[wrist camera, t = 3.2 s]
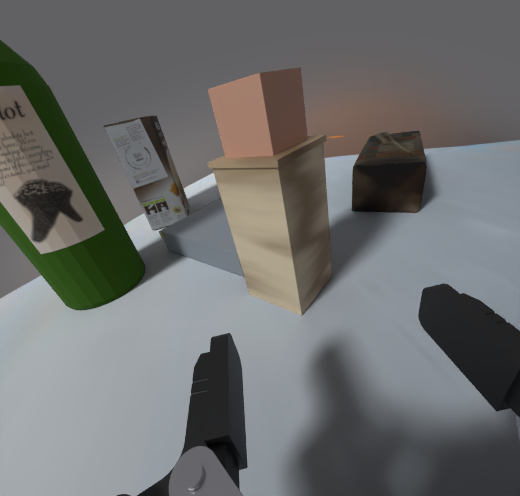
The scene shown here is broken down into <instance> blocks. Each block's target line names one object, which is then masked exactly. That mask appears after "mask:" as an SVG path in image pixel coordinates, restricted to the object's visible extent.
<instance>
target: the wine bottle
mask: <svg viewBox="0 0 520 496" xmlns="http://www.w3.org/2000/svg"><path fill="white" fill-rule="evenodd" d="M0 225H1V226H2V227H3V228H4V229H5V231H6V232H7V233H8V235H9V236H10V237H11V238H12V239H13V241H14V242H15V243H16V244H17V246H18V247H19V248H20V249H21V250H22V252H23V253H24V254H25V255H26V257H27V258H28V259H29V260H30V262H31V263H32V264H33V265H34V266H35V268H36V269H37V270H38V271H39V273H40V274H41V275H42V276H43V277H44V279H45V280H46V281H47V282H48V284H49V285H50V286H51V287H52V289H53V290H54V291H55V292H56V293H57V295H58V296H59V297H60V298H61V300H62V301H63V302H64V303H65V305H66V306H68V307H70V308H72V309H75V310H87V309H92V308H96V307H99V306H102V305H104V304H107V303H109V302H111V301H113V300H115V299H117V298H119V297H120V296H122V295H123V294H125V293H127V292H128V291H129V290H130V289H132V288H133V287H134V286H135V285H136V284H137V283H138V282H139V281H140V280H141V278H142V277H143V275H144V272H145V265H144V263H143V261H142V259H141V257H140V255H139V254H138V252H137V250H136V248H135V246H134V244H133V242H132V240H131V239H130V237H129V235H128V233H127V231H126V229H125V227H124V225H123V224H122V222H121V220H120V219H119V216H118V214H117V213H116V211H115V209H114V207H113V205H112V203H111V201H110V199H109V198H108V196H107V194H106V192H105V190H104V188H103V186H102V184H101V183H100V181H99V179H98V177H97V175H96V173H95V171H94V169H93V168H92V166H91V164H90V162H89V161H88V158H87V156H86V154H85V153H84V151H83V149H82V147H81V145H80V143H79V141H78V140H77V138H76V136H75V134H74V132H73V130H72V128H71V127H70V125H69V123H68V121H67V119H66V117H65V115H64V113H63V111H62V110H61V108H60V106H59V104H58V102H57V101H56V98H55V97H54V95H53V93H52V91H51V89H50V87H49V86H48V85H47V84H46V82H45V81H44V80H43V78H42V77H41V76H40V75H39V74H38V72H37V71H36V69H35V68H34V67H33V66H32V65H30V64H29V63H28V62H27V61H25V60H24V59H23V58H22V57H21V56H19V55H18V54H17V53H16V52H14V51H13V50H12V49H11V48H10V47H8V46H7V45H6V44H5V43H3V42H2V41H1V40H0Z"/></svg>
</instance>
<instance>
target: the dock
mask: <svg viewBox="0 0 520 496" xmlns="http://www.w3.org/2000/svg"><path fill="white" fill-rule="evenodd" d="M159 233H160V235H161V237H162V238H163V239H164V241H165V243H166V245H167V247H168V250H169V251H172V252H175V253H178V254H181V255H183V256H186V257H189V258H192V259H195V260H198V261H200V262H203V263H206V264H209V265H212V266H215V267H217V268H220V269H223V270H226V271H229V272H232V273H234V274H237V275H240V276H243V277H244V274H243V270H242V267H241V264H240V260H239V257H238V253H237V250H236V247H235V243H234V240H233V236H232V233H231V230H230V226H229V223H228V219H227V216H226V213H225V209H224V206H223V202H222V199H221V198H219V199H217V200H216V201H214V202H212V203H210V204H208V205H206V206H205V207H203V208H201V209H199V210H197V211H196V212H194V213H192V214H190V215H188V216H186V217H185V218H183V219H181V220H179V221H177V222H175V223H174V224H172V225H170V226H168V227H166V228H164V229H163V230H161V231H159Z"/></svg>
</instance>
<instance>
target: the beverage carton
mask: <svg viewBox="0 0 520 496" xmlns="http://www.w3.org/2000/svg"><path fill="white" fill-rule="evenodd" d="M426 168H427V166H426V158H425V153H424V149H423V145H422V140H421V137H420V132H419V131H412V132H402V133H394V134H388V132H380V133H378V134H377V135H375V136H371V137H370V138H369V140H368V141H367V143H366V144H365V146H364V148H363V149H362V151H361V153H360V155H359V157H358V158H357V160H356V162H355V165H354V166H353V181H352V185H353V186H352V211H375V212H410V213H416V212H418V211H419V208H420V205H421V200H422V193H423V187H424V182H425V176H426Z"/></svg>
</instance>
